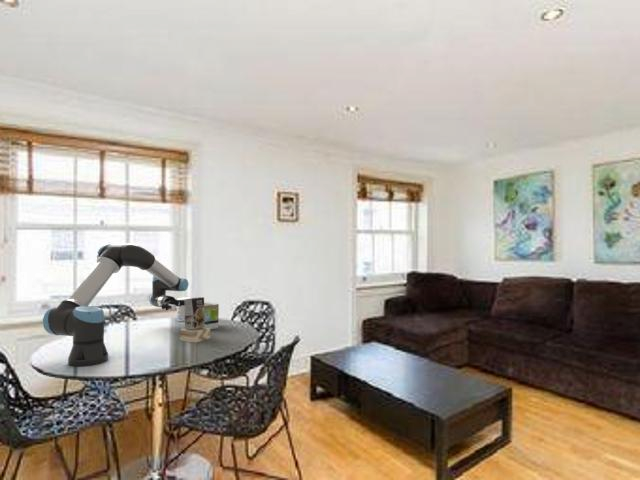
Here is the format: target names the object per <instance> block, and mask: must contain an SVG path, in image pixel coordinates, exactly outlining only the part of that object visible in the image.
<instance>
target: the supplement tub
mask: <svg viewBox="0 0 640 480" xmlns="http://www.w3.org/2000/svg"><path fill="white" fill-rule="evenodd" d="M190 298H191V297H178V298H177V299H176V300H185V299H190ZM179 305H180V303H179ZM176 319H177V321H178V322H180V323H182V322H184V323H185V306H183V305H181V306H176Z"/></svg>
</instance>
